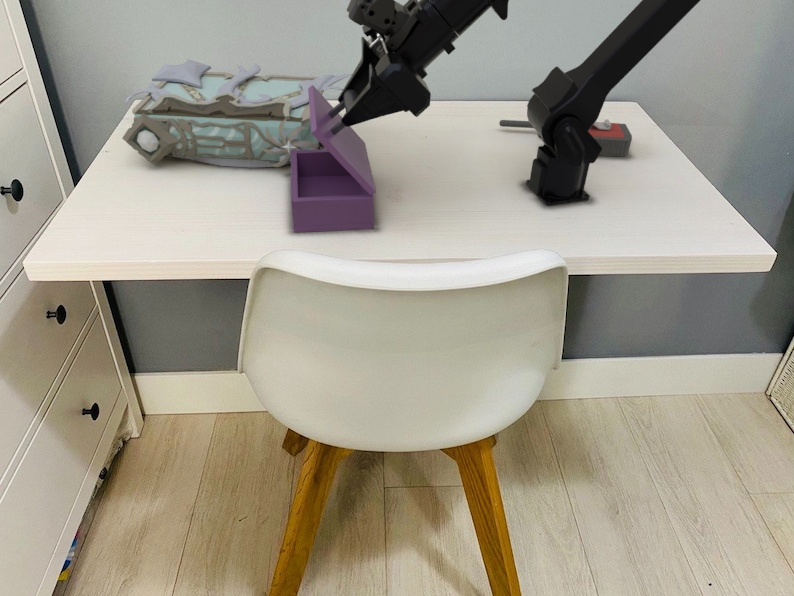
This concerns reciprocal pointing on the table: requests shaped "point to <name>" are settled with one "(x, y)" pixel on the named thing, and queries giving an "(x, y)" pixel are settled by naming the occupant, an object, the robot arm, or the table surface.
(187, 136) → the ornate book
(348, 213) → the box
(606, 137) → the walkie-talkie
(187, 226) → the table surface
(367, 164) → the lid
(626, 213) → the table surface
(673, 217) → the table surface
